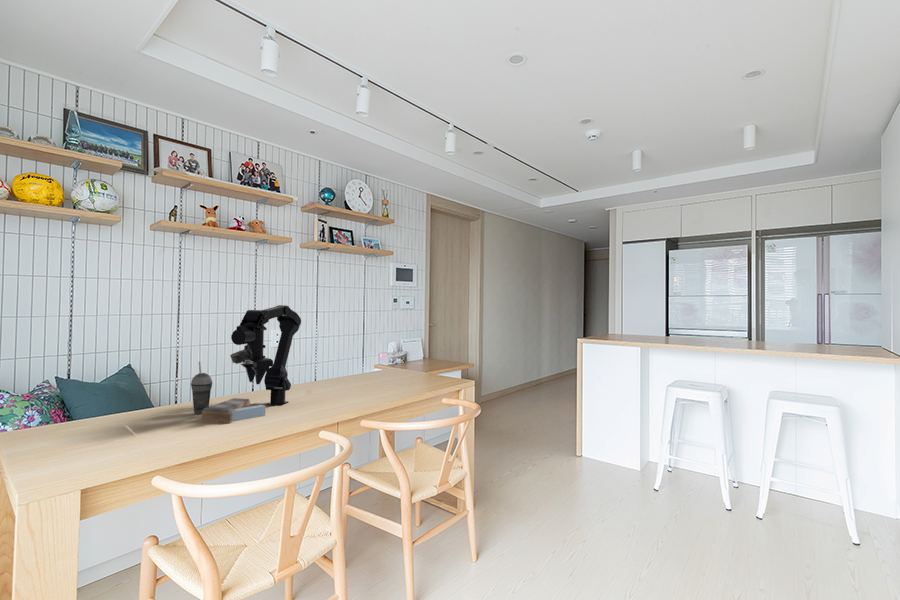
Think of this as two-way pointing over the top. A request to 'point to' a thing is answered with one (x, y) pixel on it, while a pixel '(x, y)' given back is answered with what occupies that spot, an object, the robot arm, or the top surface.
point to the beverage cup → (201, 391)
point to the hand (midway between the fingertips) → (254, 383)
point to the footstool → (223, 410)
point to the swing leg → (247, 412)
